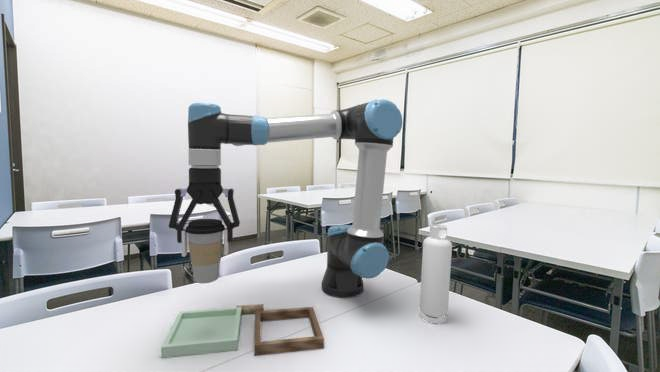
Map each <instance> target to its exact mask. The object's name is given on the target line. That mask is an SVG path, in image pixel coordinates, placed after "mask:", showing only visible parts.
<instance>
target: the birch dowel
mask: <svg viewBox="0 0 660 372" xmlns="http://www.w3.org/2000/svg"><path fill="white" fill-rule="evenodd" d="M235 307H241V315H247V314H249V315H250V314H255V311H265V303H258V304H248V305H247V304H245V305H243V304H242V305H236V306H235Z"/></svg>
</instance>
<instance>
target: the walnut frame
mask: <svg viewBox="0 0 660 372" xmlns="http://www.w3.org/2000/svg"><path fill="white" fill-rule="evenodd" d="M254 315H255V317H254V353H253V354H254V356H263V355H271V354H272V355H273V354H281V353H290V352H291V353H292V352H299V351H309V350H310V351H312V350H318V349H319V350H320V349H324V348H325V346H324V344H325V338H324V335H323V333H322V330H321V327H320V323H319V321H318V320H319V319H318V318H317V314H316V311H315V309H314V306H305V307H294V308H293V307H292V308H291V307H290V308H279V309H268V310H266V309H264V311H255V313H254ZM305 318H306V319H307V318H308V320H309V322H310V323H309V324H310V326H311V329H312V330H311V331H312V333H313V336H305V337H295V338H294V337H292V338H283V339H273V340H264V341H261V322H270V321H282V320H295V319H305Z"/></svg>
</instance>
